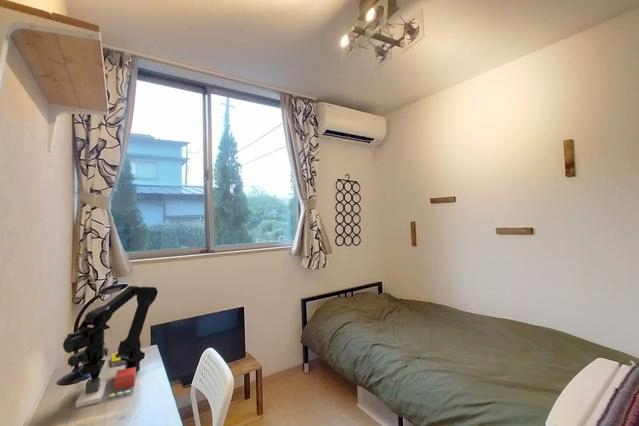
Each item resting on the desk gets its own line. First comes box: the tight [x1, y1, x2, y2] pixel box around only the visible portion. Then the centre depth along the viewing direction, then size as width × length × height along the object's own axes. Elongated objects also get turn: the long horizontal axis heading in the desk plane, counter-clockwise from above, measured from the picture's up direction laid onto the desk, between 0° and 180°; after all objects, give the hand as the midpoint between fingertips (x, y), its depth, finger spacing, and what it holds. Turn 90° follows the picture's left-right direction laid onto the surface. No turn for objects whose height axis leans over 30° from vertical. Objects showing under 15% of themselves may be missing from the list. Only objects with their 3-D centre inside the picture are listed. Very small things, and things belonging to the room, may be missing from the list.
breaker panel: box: [70, 378, 137, 411], centre depth 119 cm, size 17×19×3 cm
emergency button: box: [110, 351, 125, 369], centre depth 150 cm, size 9×4×15 cm
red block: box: [114, 367, 137, 390], centre depth 125 cm, size 7×7×5 cm
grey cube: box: [85, 376, 101, 394], centre depth 117 cm, size 4×4×4 cm
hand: (94, 381), depth 120 cm, fingers closed
